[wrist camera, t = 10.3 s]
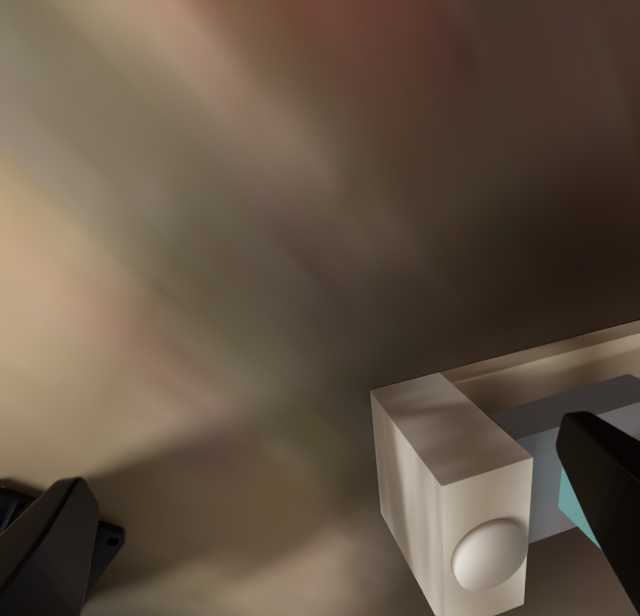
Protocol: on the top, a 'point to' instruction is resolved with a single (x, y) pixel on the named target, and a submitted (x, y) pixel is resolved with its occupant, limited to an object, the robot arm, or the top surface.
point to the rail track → (476, 465)
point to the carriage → (540, 442)
